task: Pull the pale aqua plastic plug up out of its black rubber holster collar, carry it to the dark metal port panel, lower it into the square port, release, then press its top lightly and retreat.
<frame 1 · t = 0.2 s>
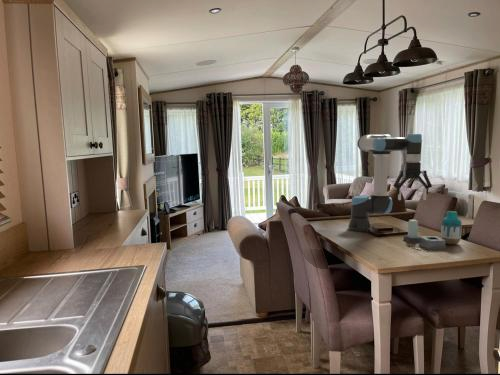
hand: (411, 200, 217), 27 cm above the table, fingers open, 13 cm apart
holster: (412, 240, 236), on the table
port panel: (431, 246, 222), on the table
plug: (412, 230, 235), in the holster
vase: (450, 244, 228), on the table
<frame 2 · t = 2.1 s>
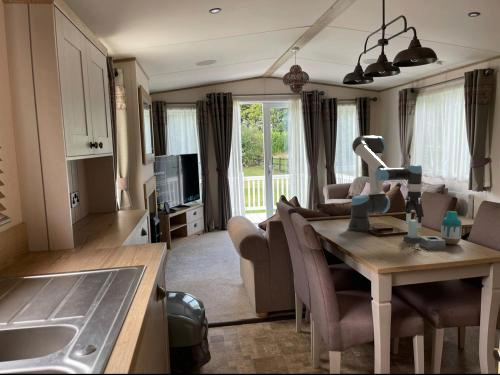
hand: (413, 226, 234), 9 cm above the table, fingers open, 13 cm apart
nothing on the table moved.
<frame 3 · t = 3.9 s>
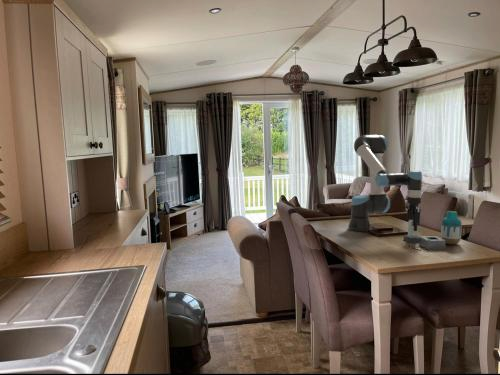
hand: (412, 235, 235), 4 cm above the table, fingers closed on plug, 4 cm apart
plug: (412, 230, 235), in the holster, touching gripper
everything else where it was.
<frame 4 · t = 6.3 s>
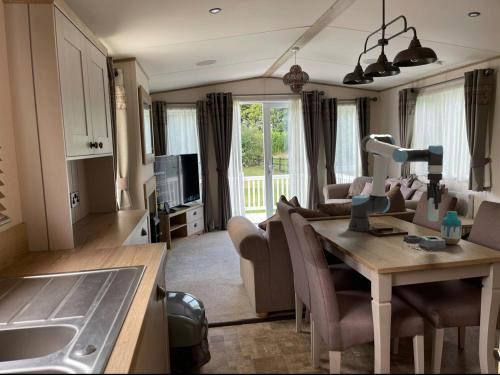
hand: (433, 214, 220), 19 cm above the table, fingers closed on plug, 4 cm apart
plug: (433, 209, 220), point 22 cm above the table, touching gripper
everything else where it was.
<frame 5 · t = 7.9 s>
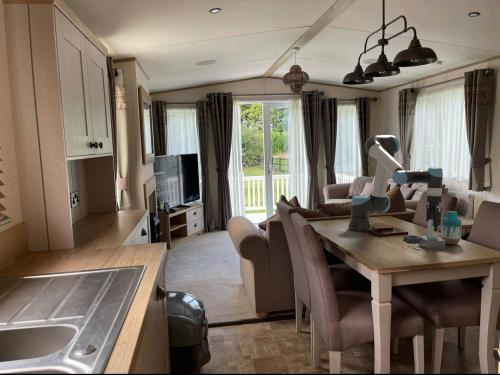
hand: (432, 235, 221), 6 cm above the table, fingers closed on plug, 4 cm apart
plug: (432, 231, 221), point 9 cm above the table, touching gripper
everything else where it was.
when the fingers open (5 cm above the table, at t = 9.0 s): plug drops 2 cm, resting in port panel.
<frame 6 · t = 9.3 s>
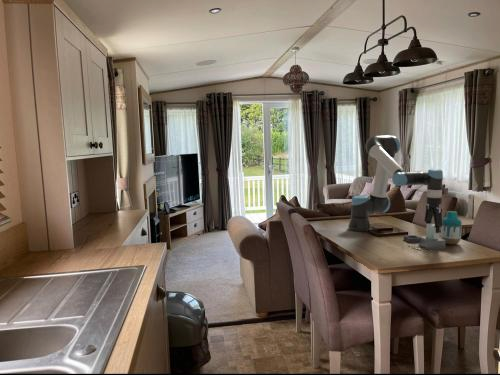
hand: (432, 236, 221), 6 cm above the table, fingers open, 8 cm apart
plug: (432, 235, 221), resting in port panel
everything else where it was.
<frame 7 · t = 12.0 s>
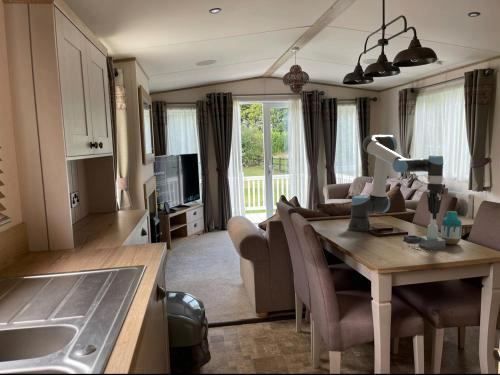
hand: (433, 224, 220), 13 cm above the table, fingers closed
plug: (432, 236, 221), resting in port panel, touching gripper
everything else where it was.
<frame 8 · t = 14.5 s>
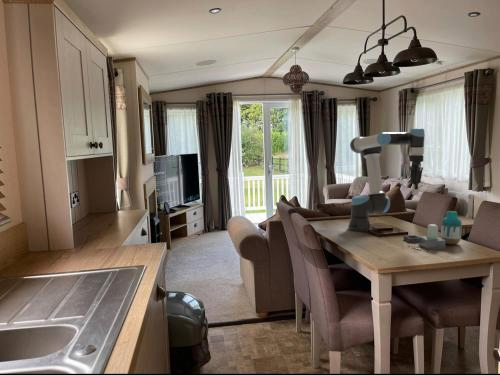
hand: (415, 194, 231), 28 cm above the table, fingers closed
plug: (432, 235, 221), resting in port panel
everything else where it was.
at the end: plug 0.0 cm off-centre on the port panel, point 6.4 cm above the port panel's base; plug tilted 0°; the gripper is holding nothing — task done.
